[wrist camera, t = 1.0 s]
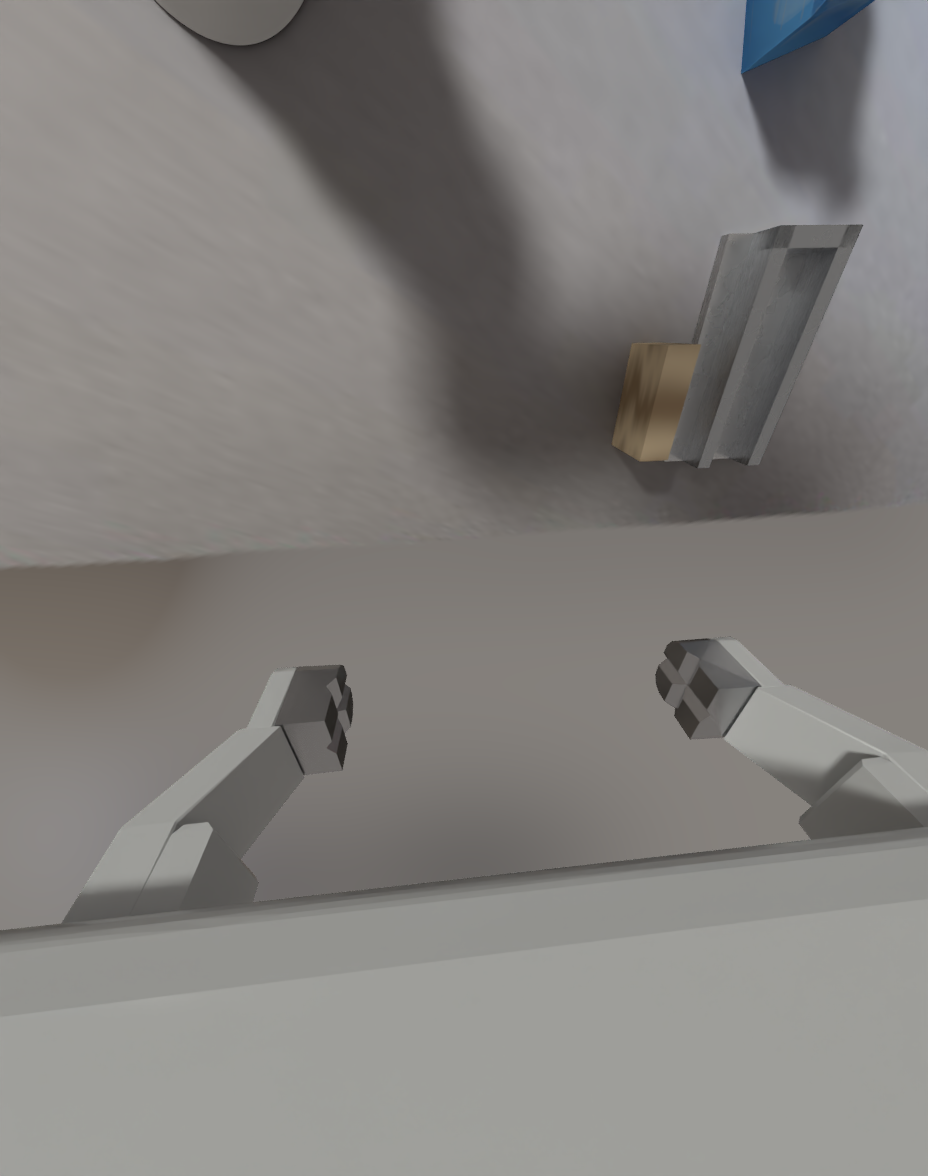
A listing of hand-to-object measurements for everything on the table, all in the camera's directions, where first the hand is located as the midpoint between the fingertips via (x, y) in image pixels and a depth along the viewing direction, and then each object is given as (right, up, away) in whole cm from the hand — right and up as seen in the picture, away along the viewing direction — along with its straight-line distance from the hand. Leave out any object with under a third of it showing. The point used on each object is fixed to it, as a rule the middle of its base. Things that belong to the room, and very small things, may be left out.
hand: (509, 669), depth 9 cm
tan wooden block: (+18, +23, +31) cm, 43 cm away
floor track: (+29, +26, +30) cm, 49 cm away
